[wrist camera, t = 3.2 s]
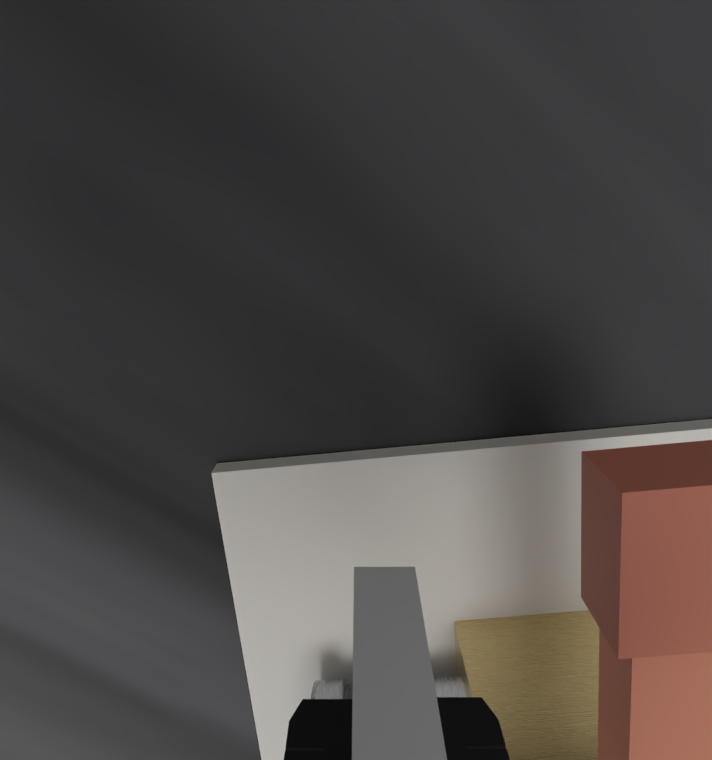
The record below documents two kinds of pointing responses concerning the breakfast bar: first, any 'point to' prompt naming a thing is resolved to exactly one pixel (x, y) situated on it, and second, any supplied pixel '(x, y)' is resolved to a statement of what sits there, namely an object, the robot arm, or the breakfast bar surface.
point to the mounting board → (401, 546)
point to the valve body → (525, 681)
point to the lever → (650, 597)
